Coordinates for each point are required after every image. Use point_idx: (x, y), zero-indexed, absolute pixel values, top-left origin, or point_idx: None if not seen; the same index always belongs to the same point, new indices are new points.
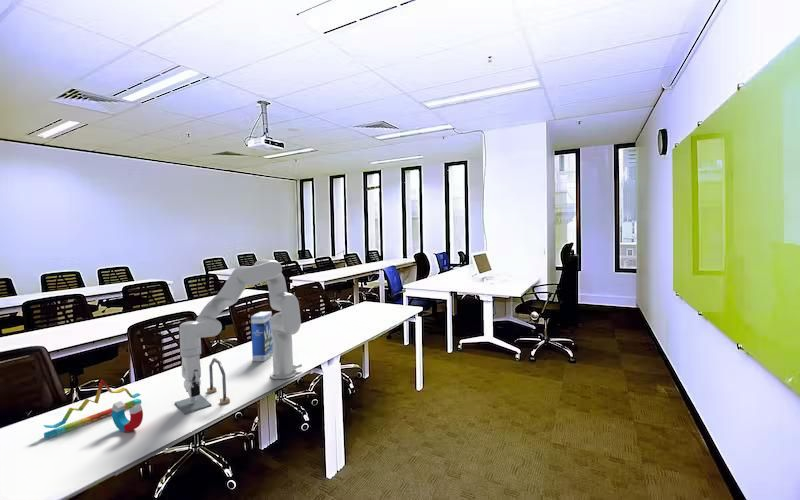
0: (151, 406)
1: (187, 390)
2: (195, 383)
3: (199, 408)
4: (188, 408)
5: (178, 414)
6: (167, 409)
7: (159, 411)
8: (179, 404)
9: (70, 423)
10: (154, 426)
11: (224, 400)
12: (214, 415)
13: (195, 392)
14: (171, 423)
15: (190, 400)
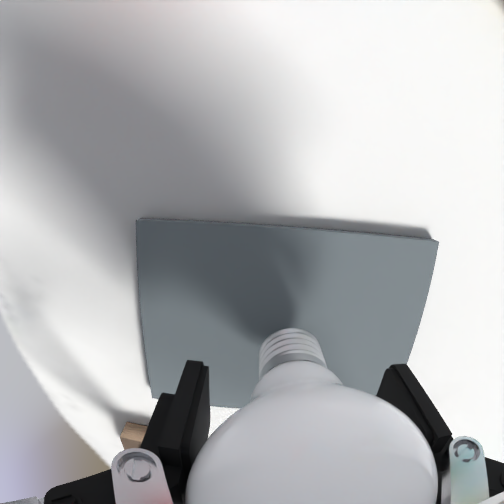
0: (498, 115)
1: (278, 390)
2: (46, 499)
3: (142, 328)
4: (205, 274)
5: (182, 180)
6: (373, 153)
7: (384, 98)
8: (365, 251)
9: None
10: (125, 13)
11: (123, 444)
12: (22, 334)
13: (157, 415)
14: (72, 106)
15: (283, 334)
